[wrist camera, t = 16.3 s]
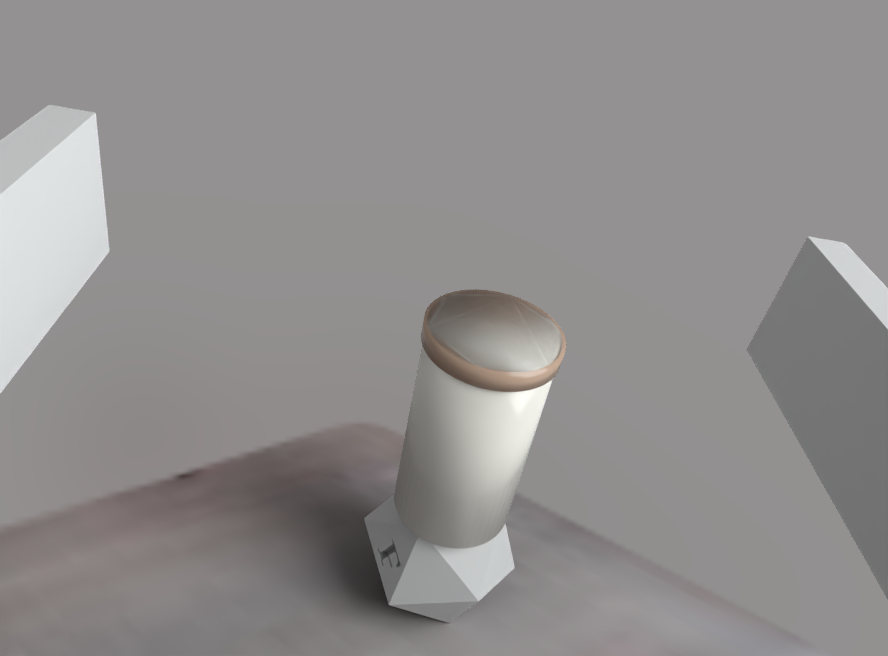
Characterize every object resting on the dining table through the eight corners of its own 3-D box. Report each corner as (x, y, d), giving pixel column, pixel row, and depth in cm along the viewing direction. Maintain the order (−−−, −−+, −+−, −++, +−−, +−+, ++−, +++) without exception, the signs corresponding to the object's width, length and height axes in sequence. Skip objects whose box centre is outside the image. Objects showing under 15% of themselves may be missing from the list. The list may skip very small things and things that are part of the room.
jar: (385, 541, 37) (420, 361, 31) (396, 450, 43) (427, 280, 36) (513, 558, 38) (574, 384, 31) (507, 466, 44) (558, 301, 37)
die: (378, 519, 49) (328, 489, 41) (494, 472, 49) (469, 431, 40) (414, 642, 45) (368, 637, 37) (541, 592, 45) (524, 575, 36)
